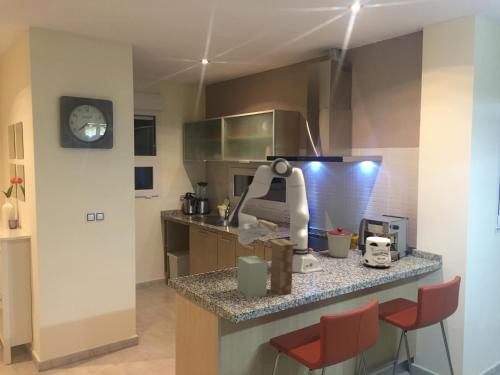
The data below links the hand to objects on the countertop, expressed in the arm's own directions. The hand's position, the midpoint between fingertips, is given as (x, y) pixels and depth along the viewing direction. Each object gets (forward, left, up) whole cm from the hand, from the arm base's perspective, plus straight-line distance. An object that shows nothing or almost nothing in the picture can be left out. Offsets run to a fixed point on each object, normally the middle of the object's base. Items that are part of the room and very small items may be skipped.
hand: (262, 223), depth 239 cm
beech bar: (0, +6, -2) cm, 6 cm away
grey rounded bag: (-109, -15, -33) cm, 115 cm away
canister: (-79, -32, -32) cm, 91 cm away
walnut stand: (0, +23, -32) cm, 40 cm away
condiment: (-106, -50, -33) cm, 122 cm away
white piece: (-87, -1, -33) cm, 93 cm away
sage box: (+15, +20, -32) cm, 41 cm away
